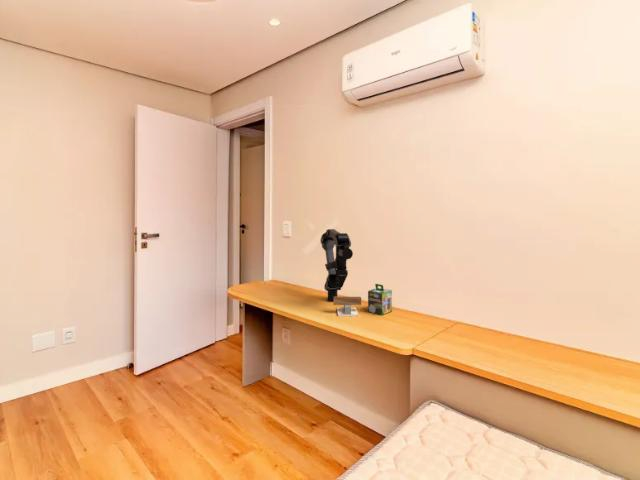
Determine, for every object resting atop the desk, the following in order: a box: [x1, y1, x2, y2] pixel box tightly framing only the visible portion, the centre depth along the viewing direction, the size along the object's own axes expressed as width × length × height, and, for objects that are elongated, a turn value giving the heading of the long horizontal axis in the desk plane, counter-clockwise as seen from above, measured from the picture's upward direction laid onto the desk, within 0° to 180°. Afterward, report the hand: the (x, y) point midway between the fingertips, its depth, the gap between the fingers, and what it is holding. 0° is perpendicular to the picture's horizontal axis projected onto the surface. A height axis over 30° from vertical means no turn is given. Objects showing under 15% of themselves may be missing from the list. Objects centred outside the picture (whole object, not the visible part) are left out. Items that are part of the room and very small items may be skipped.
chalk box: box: [367, 283, 393, 316], centre depth 183 cm, size 9×9×15 cm
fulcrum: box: [336, 305, 359, 317], centre depth 181 cm, size 12×10×4 cm
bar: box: [333, 296, 362, 306], centre depth 181 cm, size 3×14×4 cm, turn 90°
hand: (340, 285), depth 190 cm, fingers open, 9 cm apart
